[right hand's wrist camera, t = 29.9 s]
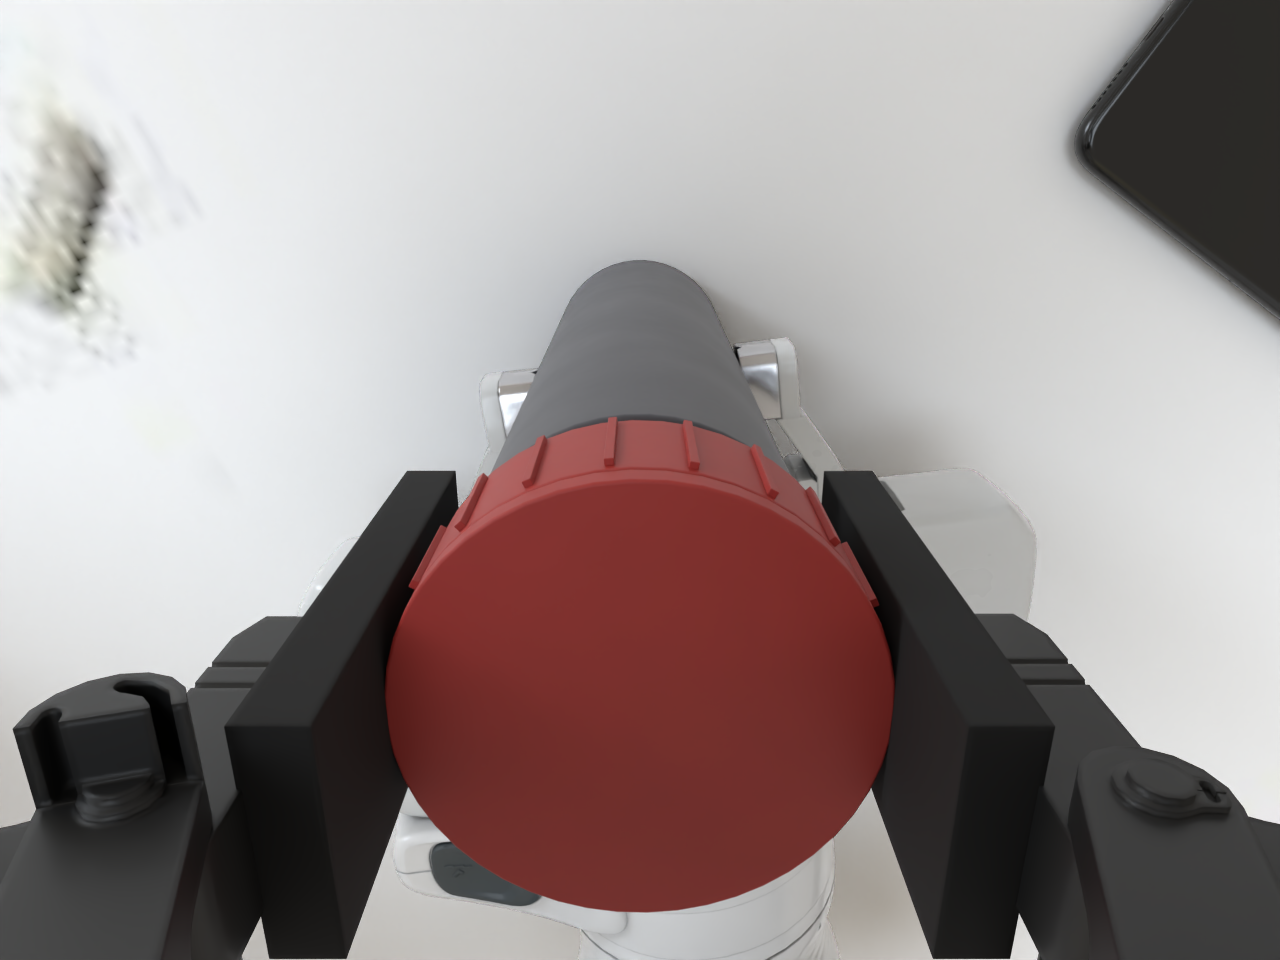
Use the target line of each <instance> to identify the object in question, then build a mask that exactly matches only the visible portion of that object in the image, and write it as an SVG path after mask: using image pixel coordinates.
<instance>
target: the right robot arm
mask: <svg viewBox="0 0 1280 960" xmlns="http://www.w3.org/2000/svg"><path fill="white" fill-rule="evenodd" d="M821 504H822V506H823V508H824V510H825V512H826V514H827V516H828V518H829V520H830V522H831V524H832V526H833V528H834V530H835V532H836V534H837V535H838V537H839V539H840V541H841V544H842V543H844V542H847V543H848V545H849V547H850V549H851V550H852V552H853V554H854V556H855V558H856V560H857V562H858V564H859V566H860V568H861V569H862V571H863V573H864V575H865V577H866V579H867V581H868V583H869V585H870V587H871V588H872V590H873V592H874V594H875V596H876V598H877V600H878V603H879V606H876V607H874V610H875V612H876V614H877V616H878V618H879V620H880V622H881V624H882V627H883V630H884V634H885V637H886V640H887V643H888V646H889V649H890V652H891V659H892V665H893V671H894V678H895V694H894V704H893V713H892V721H891V729H890V738H889V744H888V747H887V750H886V754H885V757H884V760H883V763H882V766H881V768H880V770H879V772H878V774H877V776H876V778H875V781H874V783H873V785H872V787H871V788H872V791H873V794H874V797H875V799H876V802H877V805H878V808H879V810H880V813H881V816H882V819H883V821H884V824H885V827H886V830H887V833H888V835H889V838H890V841H891V844H892V846H893V849H894V852H895V855H896V857H897V860H898V863H899V866H900V869H901V871H902V874H903V877H904V880H905V882H906V885H907V888H908V891H909V893H910V896H911V899H912V902H913V905H914V907H915V910H916V913H917V916H918V918H919V921H920V924H921V927H922V930H923V932H924V935H925V938H926V941H927V943H928V946H929V949H930V952H931V954H932V957H933V959H1010V956H1011V951H1012V946H1013V941H1014V936H1015V931H1016V926H1017V920H1018V915H1019V914H1020V916H1021V918H1022V920H1023V922H1024V924H1025V926H1026V928H1027V930H1028V932H1029V934H1030V936H1031V938H1032V940H1033V942H1034V944H1035V946H1036V948H1037V950H1038V952H1039V954H1038V959H1037V960H1280V824H1277V823H1272V822H1267V821H1263V820H1259V819H1256V818H1252V817H1248V815H1247V813H1246V811H1245V809H1244V807H1243V806H1242V805H1241V804H1240V802H1239V801H1238V800H1237V798H1236V797H1235V796H1234V795H1233V793H1232V792H1231V791H1230V789H1229V788H1228V787H1226V786H1225V785H1224V784H1222V783H1221V782H1220V781H1218V780H1217V779H1215V778H1214V777H1213V776H1211V775H1210V774H1209V773H1207V772H1206V771H1204V770H1203V769H1201V768H1199V767H1196V766H1194V765H1192V764H1190V763H1188V762H1186V761H1183V760H1181V759H1179V758H1177V757H1175V756H1172V755H1168V754H1165V753H1161V752H1157V751H1153V750H1149V749H1146V748H1142V747H1141V746H1140V745H1139V744H1138V743H1137V741H1136V740H1135V739H1134V738H1133V737H1132V736H1131V734H1130V733H1129V732H1128V731H1127V730H1126V728H1125V727H1124V726H1123V725H1122V724H1121V722H1120V721H1119V720H1118V719H1117V718H1116V716H1115V715H1114V714H1113V713H1112V712H1111V710H1110V709H1109V708H1108V707H1107V706H1106V704H1105V703H1104V702H1103V701H1102V700H1101V698H1100V697H1099V696H1098V695H1097V694H1096V692H1095V691H1094V690H1093V689H1092V688H1091V686H1090V685H1085V679H1084V678H1083V677H1082V676H1081V674H1080V673H1079V672H1078V671H1077V670H1076V668H1075V667H1074V666H1073V665H1072V664H1068V659H1067V658H1066V656H1065V655H1064V654H1063V653H1062V652H1061V651H1060V649H1059V648H1058V647H1057V646H1056V645H1055V643H1054V642H1053V641H1052V640H1051V639H1050V637H1049V636H1048V635H1047V634H1045V633H1044V632H1042V631H1041V630H1039V629H1037V628H1036V627H1034V626H1033V625H1031V624H1029V623H1028V622H1026V621H1024V620H1023V619H1021V618H1020V617H1018V616H1016V615H1015V614H974V612H973V611H972V609H971V608H970V607H969V605H968V604H967V602H966V601H965V600H964V598H963V597H962V595H961V594H960V593H959V591H958V590H957V588H956V587H955V586H954V584H953V583H952V581H951V580H950V579H949V577H948V576H947V575H946V573H945V572H944V570H943V569H942V568H941V566H940V565H939V563H938V562H937V561H936V559H935V558H934V556H933V555H932V554H931V552H930V551H929V549H928V548H927V547H926V545H925V544H924V542H923V541H922V540H921V538H920V537H919V535H918V534H917V533H916V531H915V530H914V528H913V527H912V526H911V524H910V523H909V522H908V520H907V519H906V517H905V516H904V515H903V513H902V512H901V510H900V509H899V508H898V506H897V505H896V503H895V502H894V501H893V499H892V498H891V496H890V495H889V494H888V492H887V491H886V489H885V488H884V487H883V485H882V484H881V482H880V481H879V480H878V478H877V477H876V475H875V474H874V473H873V471H824V477H823V490H822V503H821ZM457 510H458V497H457V484H456V472H455V471H407V472H406V473H405V475H404V476H403V477H402V479H401V480H400V482H399V483H398V484H397V486H396V487H395V489H394V490H393V491H392V493H391V494H390V496H389V497H388V498H387V500H386V501H385V503H384V504H383V505H382V507H381V508H380V510H379V511H378V512H377V514H376V515H375V517H374V518H373V519H372V521H371V522H370V523H369V525H368V526H367V528H366V529H365V530H364V532H363V533H362V535H361V536H360V537H359V539H358V540H357V542H356V543H355V544H354V546H353V547H352V549H351V550H350V551H349V553H348V554H347V556H346V557H345V558H344V560H343V561H342V563H341V564H340V565H339V567H338V568H337V570H336V571H335V572H334V574H333V575H332V576H331V578H330V579H329V581H328V582H327V583H326V585H325V586H324V588H323V589H322V590H321V592H320V593H319V595H318V596H317V597H316V599H315V600H314V602H313V603H312V604H311V606H310V607H309V609H308V610H307V611H306V613H305V614H304V616H267V617H265V618H263V619H262V620H260V621H259V622H257V623H255V624H254V625H252V626H251V627H249V628H247V629H246V630H244V631H243V632H241V633H239V634H238V635H236V636H235V637H233V638H232V639H231V640H230V642H229V643H228V644H227V645H226V646H225V648H224V649H223V650H222V651H221V652H220V654H219V655H218V656H217V657H216V658H215V660H214V661H213V662H212V667H208V668H207V669H206V670H205V672H204V673H203V674H202V675H201V676H200V678H199V679H198V680H197V681H196V683H195V688H191V689H190V690H189V691H188V692H187V693H186V688H185V687H184V686H183V685H182V684H180V683H179V682H178V681H177V680H175V679H174V678H173V677H169V676H164V675H159V674H154V673H130V674H118V675H113V676H109V677H105V678H100V679H96V680H92V681H87V682H85V683H82V684H80V685H77V686H75V687H72V688H70V689H67V690H65V691H62V692H60V693H57V694H55V695H54V696H52V697H51V698H49V699H47V700H46V701H44V702H43V703H41V704H39V705H38V706H36V707H35V708H33V709H31V710H30V711H29V712H28V713H27V714H26V715H25V716H24V717H23V718H22V719H21V720H20V722H19V723H18V724H17V725H16V726H15V727H14V728H13V732H14V735H15V739H16V742H17V745H18V749H19V752H20V755H21V759H22V762H23V766H24V769H25V772H26V776H27V779H28V782H29V786H30V789H31V793H32V796H33V799H34V803H35V806H36V811H35V813H34V815H33V817H32V819H31V821H28V822H24V823H21V824H17V825H13V826H8V827H3V828H0V960H243V959H242V954H243V951H244V949H245V947H246V945H247V943H248V941H249V939H250V937H251V935H252V933H253V931H254V929H255V927H256V925H257V923H258V921H259V919H260V917H261V918H262V923H263V929H264V934H265V939H266V944H267V949H268V954H269V959H346V958H347V956H348V953H349V950H350V947H351V945H352V942H353V939H354V936H355V934H356V931H357V928H358V925H359V922H360V920H361V917H362V914H363V911H364V909H365V906H366V903H367V900H368V897H369V895H370V892H371V889H372V886H373V884H374V881H375V878H376V875H377V873H378V870H379V867H380V864H381V861H382V859H383V856H384V853H385V850H386V848H387V845H388V842H389V839H390V837H391V834H392V831H393V828H394V825H395V823H396V820H397V817H398V814H399V812H400V809H401V806H402V803H403V801H404V798H405V795H406V792H407V789H408V786H407V784H406V782H405V780H404V778H403V776H402V773H401V771H400V768H399V766H398V763H397V761H396V758H395V756H394V754H393V750H392V746H391V741H390V734H389V727H388V718H387V709H386V700H385V676H386V666H387V661H388V657H389V653H390V649H391V644H392V640H393V637H394V634H395V632H396V630H397V627H398V625H399V622H400V620H401V617H402V615H403V612H404V610H405V608H406V606H407V604H408V602H409V600H410V598H411V597H412V594H413V592H414V589H412V588H410V587H409V584H410V582H411V580H412V579H413V577H414V575H415V573H416V571H417V569H418V567H419V565H420V563H421V562H422V560H423V558H424V556H425V554H426V552H427V550H428V548H429V546H430V544H431V543H432V541H433V539H434V537H435V535H436V533H437V531H438V529H439V527H440V526H441V525H442V526H444V527H446V528H447V527H448V525H449V523H450V522H451V520H452V518H453V516H454V515H455V513H456V511H457Z"/></svg>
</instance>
